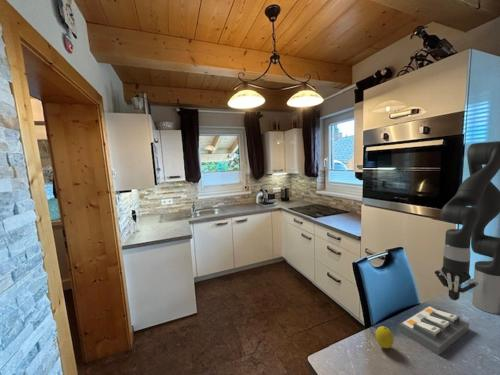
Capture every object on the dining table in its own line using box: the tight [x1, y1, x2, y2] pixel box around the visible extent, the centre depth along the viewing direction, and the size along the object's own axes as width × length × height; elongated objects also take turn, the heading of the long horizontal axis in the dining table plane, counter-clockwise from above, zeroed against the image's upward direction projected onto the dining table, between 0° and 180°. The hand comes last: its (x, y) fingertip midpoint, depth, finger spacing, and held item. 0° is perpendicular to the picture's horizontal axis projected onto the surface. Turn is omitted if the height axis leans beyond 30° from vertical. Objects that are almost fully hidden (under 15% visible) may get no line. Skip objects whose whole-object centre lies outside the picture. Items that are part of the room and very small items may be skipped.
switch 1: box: [417, 322, 440, 335], centre depth 82 cm, size 4×6×1 cm, turn 27°
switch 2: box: [435, 310, 458, 321], centre depth 89 cm, size 4×6×1 cm, turn 27°
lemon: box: [375, 325, 394, 349], centre depth 79 cm, size 6×6×8 cm
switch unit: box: [398, 304, 470, 356], centre depth 86 cm, size 24×13×5 cm, turn 117°
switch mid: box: [427, 316, 449, 327], centre depth 85 cm, size 4×6×1 cm, turn 27°
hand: (453, 299), depth 86 cm, fingers closed
